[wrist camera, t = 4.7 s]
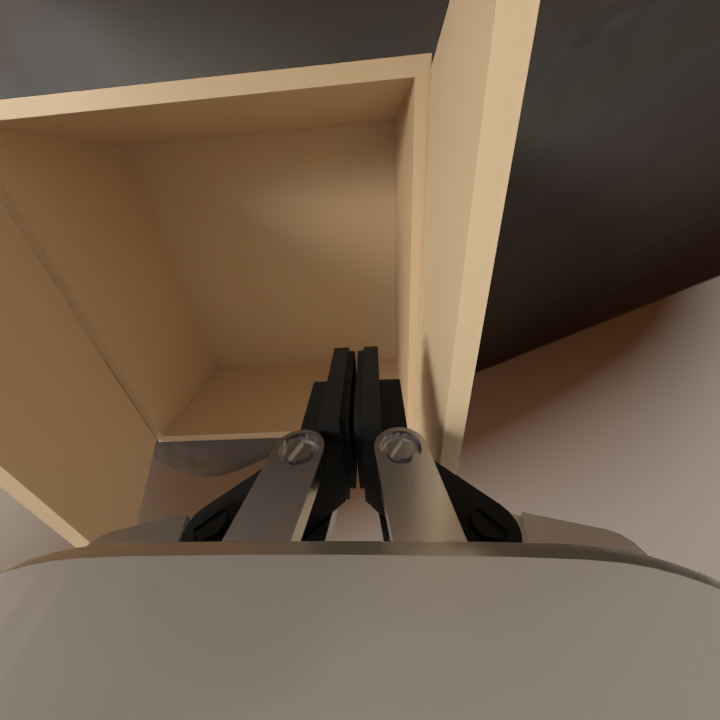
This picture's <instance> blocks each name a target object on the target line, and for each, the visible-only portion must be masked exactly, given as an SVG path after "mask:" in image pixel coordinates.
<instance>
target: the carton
mask: <svg viewBox="0 0 720 720" xmlns="http://www.w3.org/2000/svg"><path fill="white" fill-rule="evenodd" d="M431 58H432V53H427V54H417V55H408V56H399V57H390V58H381V59H371V60H362V61H353V62H344V63H335V64H325V65H316V66H307V67H298V68H289V69H279V70H270V71H261V72H252V73H243V74H233V75H224V76H215V77H206V78H197V79H188V80H178V81H169V82H160V83H151V84H142V85H132V86H123V87H114V88H105V89H96V90H86V91H77V92H68V93H59V94H50V95H40V96H31V97H22V98H13V99H4V100H0V201H1V203H2V204H3V206H4V207H5V209H6V210H7V212H8V213H9V215H10V216H11V218H12V219H13V221H14V222H15V224H16V225H17V227H18V229H19V230H20V232H21V233H22V235H23V236H24V238H25V239H26V241H27V242H28V244H29V245H30V247H31V248H32V250H33V251H34V253H35V254H36V256H37V257H38V259H39V260H40V262H41V263H42V265H43V266H44V268H45V270H46V271H47V273H48V274H49V276H50V277H51V279H52V280H53V282H54V283H55V285H56V286H57V288H58V289H59V291H60V292H61V294H62V295H63V297H64V298H65V300H66V301H67V303H68V304H69V306H70V308H71V309H72V311H73V312H74V314H75V315H76V317H77V318H78V320H79V321H80V323H81V324H82V326H83V327H84V329H85V330H86V332H87V333H88V335H89V336H90V338H91V339H92V341H93V342H94V344H95V346H96V347H97V349H98V350H99V352H100V353H101V355H102V356H103V358H104V359H105V361H106V362H107V364H108V365H109V367H110V368H111V370H112V371H113V373H114V374H115V376H116V377H117V379H118V380H119V382H120V384H121V385H122V387H123V388H124V390H125V391H126V393H127V394H128V396H129V397H130V399H131V400H132V402H133V403H134V405H135V406H136V408H137V409H138V411H139V412H140V414H141V415H142V417H143V418H144V420H145V421H146V423H147V425H148V426H149V428H150V429H151V431H152V432H153V434H154V435H155V437H156V438H157V440H158V441H159V442H174V441H200V440H226V439H253V438H279V437H283V436H285V435H286V434H288V433H290V432H293V431H297V430H300V429H301V426H302V422H303V419H304V415H305V412H306V408H307V405H308V401H309V398H310V394H311V391H312V387H313V384H314V382H321V381H327V380H328V375H329V370H330V366H331V361H332V357H333V352H334V348H344V347H349V349H350V351H355V358H356V370H357V360H358V351H362V350H363V349H364V347H369V346H378V362H379V380H380V379H400V383H401V390H402V396H403V403H404V409H405V416H406V422H407V428H409V429H411V430H414V431H415V419H416V396H417V374H418V351H419V329H420V306H421V284H422V261H423V238H424V216H425V193H426V171H427V148H428V126H429V103H430V80H431Z"/></svg>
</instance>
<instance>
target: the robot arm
mask: <svg viewBox="0 0 720 720" xmlns="http://www.w3.org/2000/svg"><path fill="white" fill-rule="evenodd" d="M357 463H358V472H359V482H360V488H365V497H366V501H367V502H368V503H369V504H370V505H371V506H372V507H373V508H374V509H375V510H376V511H377V512H378V519H379V525H380V531H381V536H382V541H330V539H331V535H332V531H333V527H334V523H335V519H336V513H337V508H338V507H339V506H340V505H341V504H342V503H343V502H345V501H346V499H349V498H350V488H356V481H357ZM0 720H720V581H718V580H716V579H713V578H711V577H709V576H706V575H704V574H702V573H699V572H696V571H694V570H691V569H688V568H685V567H682V566H680V565H677V564H674V563H671V562H667V561H664V560H661V559H657V558H654V557H651V556H647V554H646V553H645V552H644V551H643V550H642V549H641V548H639V547H638V546H637V545H636V544H635V543H634V542H632V541H631V540H629V539H628V538H626V537H624V536H623V535H621V534H618V533H616V532H613V531H610V530H607V529H602V528H597V527H592V526H587V525H582V524H577V523H573V522H568V521H563V520H558V519H553V518H548V517H544V516H538V515H534V514H529V513H524V512H522V514H521V516H518V515H513V514H511V513H509V511H507V510H506V509H505V508H504V507H503V506H501V505H500V504H499V503H497V502H496V501H494V500H492V499H491V498H490V497H488V496H486V495H485V494H483V493H482V492H480V491H479V490H477V489H476V488H474V487H473V486H472V485H470V484H469V483H467V482H466V481H464V480H463V479H461V478H460V477H458V476H457V475H455V474H454V473H452V472H451V471H449V470H448V469H446V468H445V467H443V466H442V465H440V464H439V463H437V462H436V461H434V460H433V458H432V455H431V453H430V450H429V448H428V446H427V443H426V441H425V440H424V438H423V437H422V436H421V435H420V434H419V433H417V432H416V431H414V430H411V429H409V428H407V422H406V416H405V409H404V403H403V396H402V390H401V383H400V379H380V380H379V362H378V346H369V347H364V349H363V350H362V351H358V360H357V370H356V358H355V351H350V349H349V347H344V348H334V352H333V357H332V361H331V366H330V370H329V375H328V380H327V381H321V382H314V384H313V387H312V391H311V394H310V398H309V401H308V405H307V408H306V412H305V415H304V419H303V422H302V426H301V429H300V430H297V431H293V432H290V433H288V434H286V435H285V436H283V437H282V438H281V439H280V440H279V441H278V442H277V443H276V445H275V446H274V448H273V450H272V451H271V453H270V455H269V457H268V459H267V460H266V462H265V464H264V466H263V468H262V469H261V470H259V471H258V472H256V473H255V474H253V475H252V476H251V477H249V478H248V479H246V480H244V481H243V482H241V483H240V484H238V485H237V486H235V487H234V488H232V489H231V490H229V491H228V492H226V493H225V494H223V495H222V496H220V497H219V498H217V499H216V500H214V501H213V502H211V503H210V504H208V505H207V506H205V507H204V508H203V509H201V510H200V511H199V512H198V513H197V514H195V515H194V516H193V517H191V518H189V516H188V515H187V514H185V515H181V516H176V517H172V518H168V519H163V520H159V521H154V522H150V523H146V524H142V525H137V526H132V527H128V528H124V529H119V530H115V531H112V532H109V533H106V534H104V535H102V536H100V537H98V538H97V539H95V540H94V541H92V542H91V543H89V544H88V545H87V546H85V547H79V548H73V549H67V550H63V551H59V552H54V553H50V554H47V555H43V556H39V557H35V558H32V559H29V560H26V561H23V562H21V563H18V564H15V565H12V566H9V567H7V568H4V569H1V570H0Z"/></svg>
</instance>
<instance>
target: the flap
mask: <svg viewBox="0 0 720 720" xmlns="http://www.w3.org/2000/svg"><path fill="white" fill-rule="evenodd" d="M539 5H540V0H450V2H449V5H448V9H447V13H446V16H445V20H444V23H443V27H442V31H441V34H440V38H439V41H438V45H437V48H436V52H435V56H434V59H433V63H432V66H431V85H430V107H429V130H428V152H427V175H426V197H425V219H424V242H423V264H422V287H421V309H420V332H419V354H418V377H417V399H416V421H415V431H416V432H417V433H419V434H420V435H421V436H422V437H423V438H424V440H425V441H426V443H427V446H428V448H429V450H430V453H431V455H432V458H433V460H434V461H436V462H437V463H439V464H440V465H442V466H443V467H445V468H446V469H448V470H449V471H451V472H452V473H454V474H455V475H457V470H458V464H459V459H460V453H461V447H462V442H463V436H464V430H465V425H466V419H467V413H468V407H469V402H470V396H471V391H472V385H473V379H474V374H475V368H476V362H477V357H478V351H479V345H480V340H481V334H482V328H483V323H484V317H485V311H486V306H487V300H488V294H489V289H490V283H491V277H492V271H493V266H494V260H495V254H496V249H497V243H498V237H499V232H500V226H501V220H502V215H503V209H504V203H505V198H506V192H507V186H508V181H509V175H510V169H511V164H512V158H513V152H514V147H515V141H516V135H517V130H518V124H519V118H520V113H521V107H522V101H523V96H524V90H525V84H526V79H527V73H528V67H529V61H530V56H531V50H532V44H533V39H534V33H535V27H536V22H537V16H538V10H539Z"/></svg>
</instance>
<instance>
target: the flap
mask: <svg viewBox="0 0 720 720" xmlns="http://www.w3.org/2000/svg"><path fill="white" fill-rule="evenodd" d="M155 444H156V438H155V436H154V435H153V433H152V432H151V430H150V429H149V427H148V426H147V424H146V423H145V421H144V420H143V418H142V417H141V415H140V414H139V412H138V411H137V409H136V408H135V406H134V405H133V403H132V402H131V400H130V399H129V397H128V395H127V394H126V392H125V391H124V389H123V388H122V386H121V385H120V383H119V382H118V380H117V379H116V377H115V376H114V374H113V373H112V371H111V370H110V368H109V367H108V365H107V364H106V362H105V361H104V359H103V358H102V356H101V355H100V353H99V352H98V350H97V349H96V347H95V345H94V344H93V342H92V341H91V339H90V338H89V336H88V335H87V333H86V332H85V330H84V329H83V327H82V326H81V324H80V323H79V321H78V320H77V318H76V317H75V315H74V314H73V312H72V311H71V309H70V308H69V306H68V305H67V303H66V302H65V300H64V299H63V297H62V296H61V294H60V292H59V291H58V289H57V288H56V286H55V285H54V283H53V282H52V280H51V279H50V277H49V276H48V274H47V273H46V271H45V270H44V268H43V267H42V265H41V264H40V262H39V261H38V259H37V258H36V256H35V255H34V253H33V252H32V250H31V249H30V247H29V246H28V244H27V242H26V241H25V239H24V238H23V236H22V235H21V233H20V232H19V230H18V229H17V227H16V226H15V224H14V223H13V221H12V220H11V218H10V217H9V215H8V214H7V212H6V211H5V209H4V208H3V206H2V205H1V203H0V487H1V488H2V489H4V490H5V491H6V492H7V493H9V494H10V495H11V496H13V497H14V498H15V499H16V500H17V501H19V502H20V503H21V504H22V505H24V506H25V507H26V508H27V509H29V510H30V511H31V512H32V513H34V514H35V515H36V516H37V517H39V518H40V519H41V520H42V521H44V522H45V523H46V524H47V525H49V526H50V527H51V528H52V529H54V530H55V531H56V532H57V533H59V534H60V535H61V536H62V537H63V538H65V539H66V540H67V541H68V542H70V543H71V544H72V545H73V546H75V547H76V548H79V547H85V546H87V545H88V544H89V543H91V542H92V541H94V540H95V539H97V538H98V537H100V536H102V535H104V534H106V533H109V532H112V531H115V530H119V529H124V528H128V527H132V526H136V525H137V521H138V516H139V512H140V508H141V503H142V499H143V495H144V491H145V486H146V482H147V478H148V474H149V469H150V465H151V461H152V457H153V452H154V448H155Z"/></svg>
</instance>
